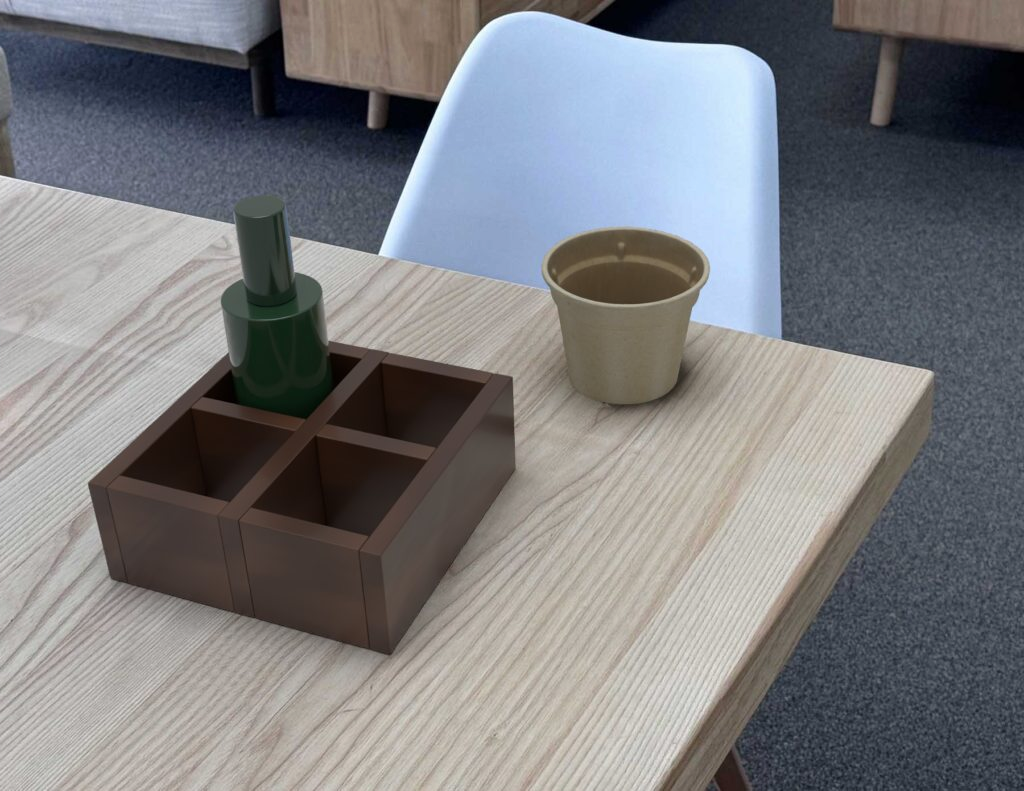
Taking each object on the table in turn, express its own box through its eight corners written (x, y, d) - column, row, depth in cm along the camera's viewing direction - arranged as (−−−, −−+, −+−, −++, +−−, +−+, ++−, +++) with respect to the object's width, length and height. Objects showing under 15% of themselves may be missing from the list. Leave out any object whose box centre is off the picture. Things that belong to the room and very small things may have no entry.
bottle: (230, 484, 77) (185, 220, 68) (278, 433, 81) (241, 177, 72) (314, 504, 75) (278, 236, 66) (358, 451, 79) (330, 191, 70)
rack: (109, 578, 70) (86, 482, 67) (268, 414, 82) (255, 325, 79) (390, 655, 65) (380, 555, 62) (516, 467, 77) (513, 376, 74)
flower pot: (697, 444, 79) (705, 310, 74) (532, 431, 80) (529, 299, 75) (706, 356, 86) (714, 230, 82) (555, 346, 88) (554, 222, 83)
